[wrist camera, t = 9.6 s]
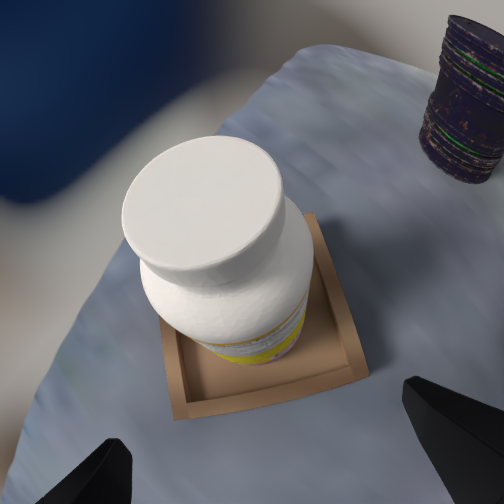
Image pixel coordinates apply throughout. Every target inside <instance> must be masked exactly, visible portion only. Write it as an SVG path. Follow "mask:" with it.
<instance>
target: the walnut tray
mask: <svg viewBox="0 0 504 504" xmlns="http://www.w3.org/2000/svg"><path fill="white" fill-rule="evenodd" d="M302 215H303V216H304V218H305V220H306V222H307V224H308V227H309V229H310V233H311V236H312V241H313V250H314V257H313V268H312V275H311V281H310V288H309V294H308V299H307V306H306V312H305V318H304V323H303V327H302V330H301V333H300V335H299V337H298V339H297V341H296V342H295V344H294V345H293V346H292V348H291V349H290V350H289V351H288V352H287V353H286V354H284V355H283V356H281V357H280V358H278V359H277V360H275V361H273V362H270V363H267V364H264V365H258V366H243V365H238V364H234V363H232V362H229V361H227V360H225V359H223V358H221V357H220V356H218V355H216V354H215V353H213V352H211V351H210V350H208V349H207V348H205V347H203V346H202V345H200V344H199V343H197V342H195V341H194V340H192V339H191V338H189V337H187V336H186V335H184V334H183V333H181V332H179V331H178V330H176V329H175V328H174V327H172V326H171V325H170V324H168V323H167V322H166V321H165V320H164V319H163V318H162V317H161V316H160V315H159V319H160V329H161V338H162V346H163V354H164V361H165V368H166V375H167V381H168V388H169V394H170V400H171V405H172V411H173V416H174V420H181V419H190V418H198V417H206V416H213V415H219V414H225V413H231V412H237V411H243V410H248V409H253V408H258V407H263V406H267V405H272V404H276V403H280V402H285V401H289V400H293V399H297V398H301V397H304V396H308V395H312V394H315V393H319V392H322V391H326V390H329V389H332V388H336V387H339V386H342V385H345V384H348V383H351V382H354V381H357V380H360V379H363V378H366V377H368V376H370V373H369V370H368V366H367V363H366V360H365V356H364V353H363V350H362V346H361V343H360V340H359V337H358V334H357V331H356V327H355V324H354V321H353V318H352V315H351V312H350V309H349V306H348V303H347V300H346V297H345V295H344V292H343V289H342V286H341V283H340V280H339V278H338V275H337V272H336V269H335V267H334V264H333V261H332V259H331V256H330V253H329V251H328V248H327V245H326V243H325V240H324V238H323V235H322V232H321V230H320V227H319V225H318V222H317V220H316V217H315V215H314V212H311V213H306V214H302Z"/></svg>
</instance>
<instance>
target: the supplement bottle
mask: <svg viewBox="0 0 504 504" xmlns="http://www.w3.org/2000/svg"><path fill="white" fill-rule="evenodd" d="M122 227H123V231H124V234H125V237H126V239H127V241H128V243H129V245H130V246H131V248H132V249H133V250H134V252H135V253H136V254H137V255H138V256H139V257H140V271H141V278H142V283H143V287H144V290H145V293H146V295H147V297H148V299H149V301H150V303H151V304H152V306H153V308H154V309H155V310H156V311H157V313H158V314H159V315H160V316H161V317H162V318H163V319H164V320H165V321H166V322H167V323H168V324H170V325H171V326H172V327H174V328H175V329H176V330H178V331H179V332H181V333H183V334H184V335H186V336H187V337H189V338H191V339H192V340H194V341H195V342H197V343H199V344H200V345H202V346H203V347H205V348H207V349H208V350H210V351H211V352H213V353H215V354H216V355H218V356H220V357H221V358H223V359H225V360H227V361H229V362H232V363H234V364H238V365H243V366H258V365H264V364H267V363H270V362H273V361H275V360H277V359H278V358H280V357H281V356H283V355H284V354H286V353H287V352H288V351H289V350H290V349H291V348H292V346H293V345H294V344H295V342H296V341H297V339H298V337H299V335H300V333H301V330H302V327H303V323H304V318H305V312H306V306H307V299H308V294H309V288H310V281H311V275H312V268H313V257H314V250H313V241H312V236H311V233H310V229H309V227H308V224H307V222H306V220H305V218H304V216H303V215H302V213H301V211H300V210H299V209H298V208H297V206H296V205H295V204H294V203H293V202H292V201H291V200H290V199H289V198H288V197H287V196H286V195H284V187H283V181H282V177H281V173H280V171H279V169H278V166H277V165H276V163H275V162H274V160H273V159H272V158H271V157H270V155H269V154H268V153H267V152H265V151H264V150H263V149H262V148H260V147H259V146H257V145H255V144H253V143H251V142H249V141H246V140H244V139H241V138H236V137H230V136H208V137H202V138H197V139H193V140H189V141H187V142H184V143H181V144H179V145H176V146H174V147H172V148H170V149H168V150H166V151H165V152H163V153H161V154H160V155H158V156H157V157H156V158H154V159H153V160H152V161H151V162H149V163H148V164H147V165H146V166H145V167H144V168H143V170H142V171H141V172H140V173H139V174H138V175H137V176H136V178H135V179H134V181H133V183H132V184H131V186H130V188H129V190H128V192H127V194H126V197H125V200H124V203H123V208H122Z"/></svg>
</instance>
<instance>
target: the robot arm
mask: <svg viewBox="0 0 504 504" xmlns="http://www.w3.org/2000/svg"><path fill="white" fill-rule="evenodd" d="M402 402H403V405H404V407H405V410H406V412H407V414H408V416H409V419H410V421H411V423H412V426H413V428H414V430H415V433H416V435H417V437H418V439H419V441H420V443H421V445H422V447H423V448H424V450H425V452H426V454H427V455H428V457H429V459H430V460H431V462H432V464H433V466H434V467H435V469H436V471H437V473H438V474H439V476H440V478H441V480H442V481H443V483H444V485H445V487H446V488H447V490H448V492H449V494H450V496H451V497H452V499H453V501H454V503H455V504H504V411H502V410H500V409H497V408H495V407H492V406H489V405H487V404H484V403H482V402H479V401H477V400H474V399H472V398H469V397H467V396H464V395H462V394H459V393H457V392H454V391H452V390H450V389H447V388H445V387H442V386H440V385H438V384H435V383H433V382H431V381H428V380H426V379H424V378H421V377H419V376H413V377H411V378H408V379H406V380H405V381H404V384H403V394H402ZM131 498H132V455H131V453H130V451H129V450H128V449H127V447H126V446H125V445H124V444H123V442H122V441H121V440H120V439H118V438H108V439H106V440H105V441H104V442H103V443H102V444H101V445H100V446H99V447H98V448H97V449H96V450H95V451H93V452H92V453H91V454H90V455H89V456H88V457H87V458H86V459H85V460H84V461H83V462H82V463H80V464H79V465H78V466H77V467H76V468H75V469H74V470H73V471H72V472H71V473H69V474H68V475H67V476H66V477H65V478H64V479H63V480H62V481H60V482H59V483H58V484H57V485H56V486H55V487H54V488H53V489H51V490H50V491H49V492H48V493H47V494H46V495H45V496H44V497H42V498H41V499H40V500H39V501H38V502H36V503H35V504H131Z"/></svg>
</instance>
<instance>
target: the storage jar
mask: <svg viewBox="0 0 504 504" xmlns="http://www.w3.org/2000/svg"><path fill="white" fill-rule="evenodd" d="M448 25H449V27H448V28H447V29H446V34H445V37H444V38H443V43H442V52H441V55H440V56H439V59H440V61H439V65H440V72H439V76H438V80H437V84H436V87H435V91H433V92H432V93H431V95H430V97H429V99H428V106H427V107H426V111H425V114H424V121H423V126H422V128H421V130H420V134H419V141H420V145H421V147H422V149H423V151H424V153H425V154H426V155H427V157H428V158H429V159H430V160H431V161H432V162H433V163H434V164H435V165H436V166H437V167H438V168H439V169H441V170H442V171H443V172H445V173H446V174H448V175H449V176H451V177H453V178H455V179H457V180H459V181H462V182H465V183H469V184H480V183H483V182H485V181H486V180H487V179H488V178H489V176H490V175H491V172H492V170H493V169H494V168H495V166H496V165H497V164H498V163H499V161H500V160H501V158H502V156H503V154H504V36H503V35H502V34H500V33H498V32H496V31H494V30H493V29H491V28H489V27H487V26H485V25H482V24H480V23H478V22H476V21H473V20H470V19H467V18H465V17H461V16H457V15H449V17H448Z"/></svg>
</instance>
